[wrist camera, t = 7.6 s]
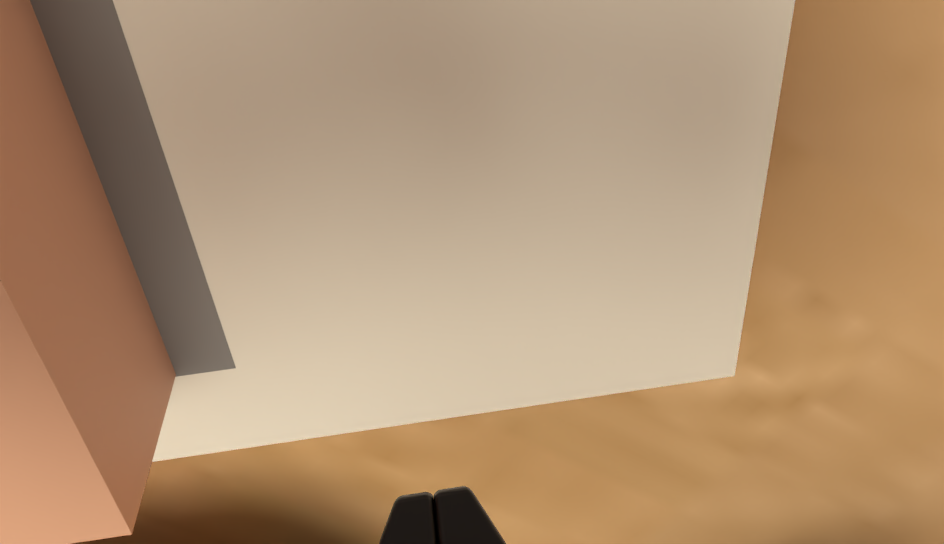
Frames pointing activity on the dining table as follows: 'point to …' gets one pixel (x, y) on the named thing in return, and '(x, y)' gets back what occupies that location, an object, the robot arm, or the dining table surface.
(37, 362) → the t block
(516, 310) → the mat
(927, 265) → the dining table surface
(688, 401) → the dining table surface
